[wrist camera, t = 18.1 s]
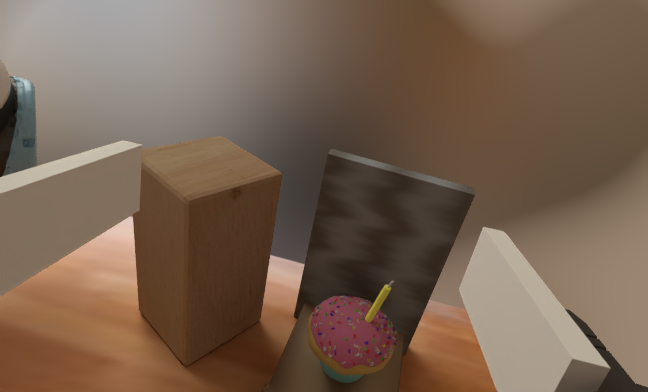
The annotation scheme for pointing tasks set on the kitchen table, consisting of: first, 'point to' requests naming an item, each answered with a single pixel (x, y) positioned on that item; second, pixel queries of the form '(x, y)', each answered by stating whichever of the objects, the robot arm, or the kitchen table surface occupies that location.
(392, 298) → the wooden bookend
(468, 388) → the kitchen table surface
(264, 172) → the wooden block
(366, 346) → the cupcake
